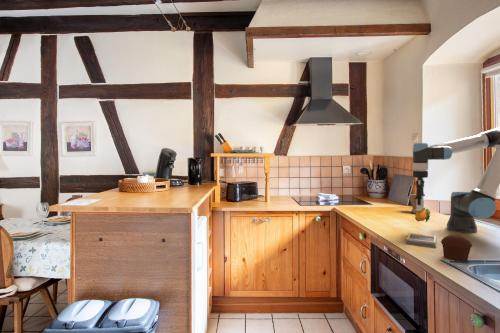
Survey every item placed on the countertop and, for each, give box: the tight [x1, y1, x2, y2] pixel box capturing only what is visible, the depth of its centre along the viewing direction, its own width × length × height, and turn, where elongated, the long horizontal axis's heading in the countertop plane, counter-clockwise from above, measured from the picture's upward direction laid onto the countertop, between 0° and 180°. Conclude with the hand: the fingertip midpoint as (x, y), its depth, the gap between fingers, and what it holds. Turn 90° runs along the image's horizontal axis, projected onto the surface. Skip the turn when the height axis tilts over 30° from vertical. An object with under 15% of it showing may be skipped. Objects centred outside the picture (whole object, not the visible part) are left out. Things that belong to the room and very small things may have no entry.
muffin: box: [440, 234, 473, 263], centre depth 136 cm, size 12×11×10 cm
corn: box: [414, 206, 431, 223], centre depth 173 cm, size 7×8×20 cm
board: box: [405, 232, 437, 249], centre depth 161 cm, size 13×15×2 cm
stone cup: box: [408, 193, 417, 215], centre depth 236 cm, size 15×12×15 cm
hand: (419, 209), depth 175 cm, fingers closed on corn, 11 cm apart
